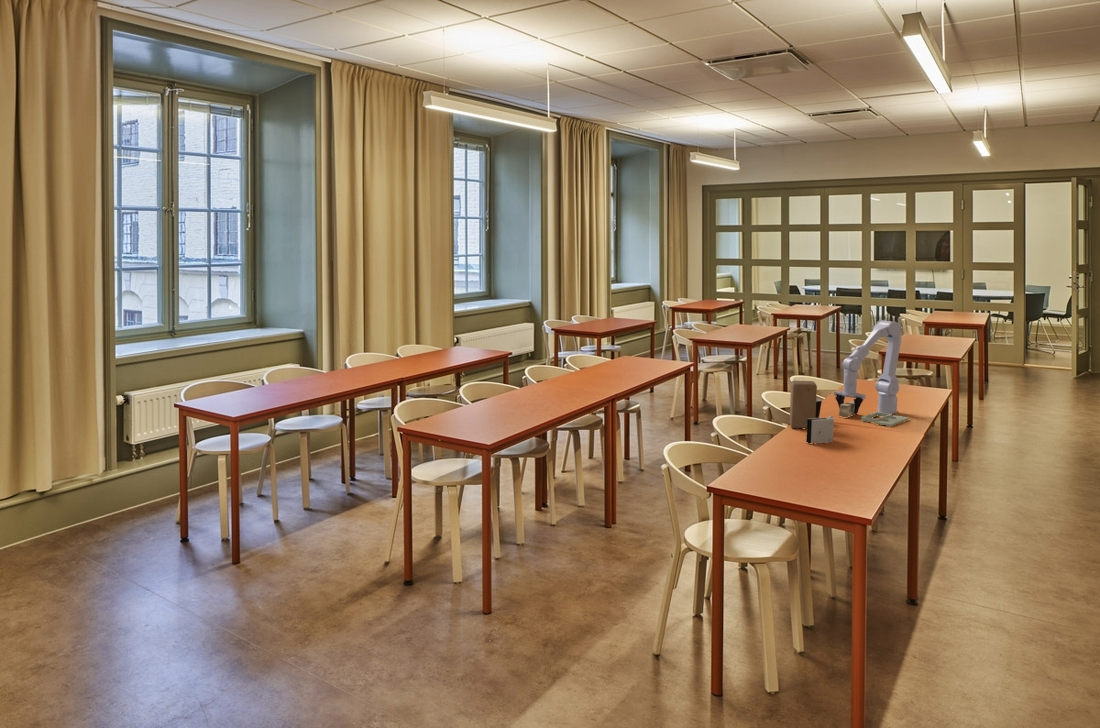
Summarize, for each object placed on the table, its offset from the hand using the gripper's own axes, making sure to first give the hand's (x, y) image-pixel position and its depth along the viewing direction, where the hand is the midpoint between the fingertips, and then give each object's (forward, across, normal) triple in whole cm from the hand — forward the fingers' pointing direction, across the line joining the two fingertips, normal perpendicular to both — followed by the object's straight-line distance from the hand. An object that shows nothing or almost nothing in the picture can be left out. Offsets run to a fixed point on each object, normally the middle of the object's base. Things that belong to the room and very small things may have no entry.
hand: (848, 412), depth 383 cm
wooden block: (+2, -4, -37) cm, 37 cm away
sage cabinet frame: (+2, +17, 0) cm, 17 cm away
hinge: (+2, +15, -57) cm, 59 cm away
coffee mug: (+2, -8, -22) cm, 23 cm away
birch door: (+2, 0, 0) cm, 2 cm away
